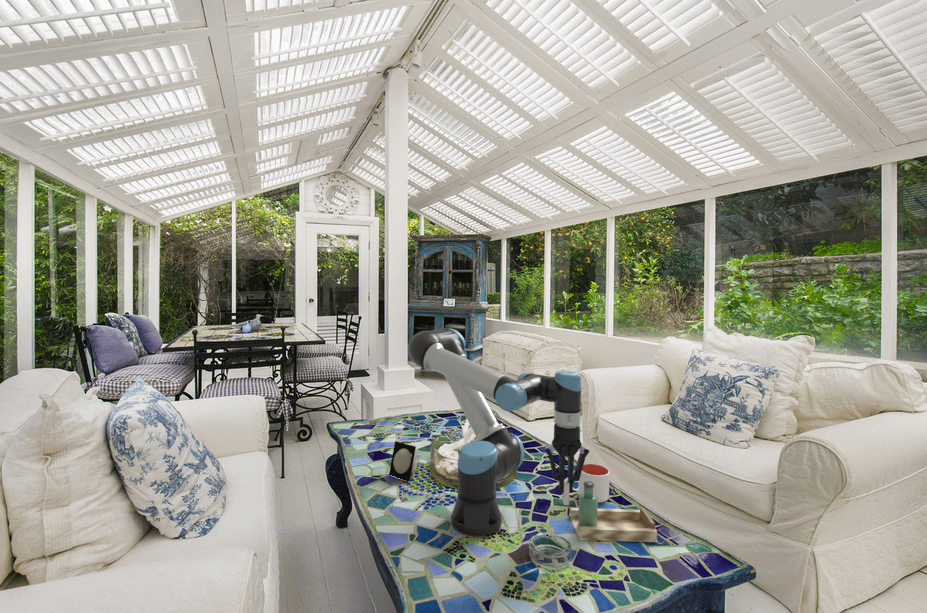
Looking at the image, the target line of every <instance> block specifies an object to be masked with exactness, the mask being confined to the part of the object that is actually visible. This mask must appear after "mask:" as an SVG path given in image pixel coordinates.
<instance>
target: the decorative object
mask: <svg viewBox="0 0 927 613" xmlns="http://www.w3.org/2000/svg"><path fill="white" fill-rule="evenodd" d="M392 450H393V451H392V456H391V461H390V466H389V472H388V476H389V475H392V476H395V477H397V478H400V479H403V480H406V481H409V483H410V481H411V475H412V474H414V473H416V469H417V467H418V459H417V457H418V454H417V447H416V446H415V445H413V444H407V443H403V442H400V441H396V440H395V441H394V446H393V449H392ZM411 473H412V474H411Z"/></svg>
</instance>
